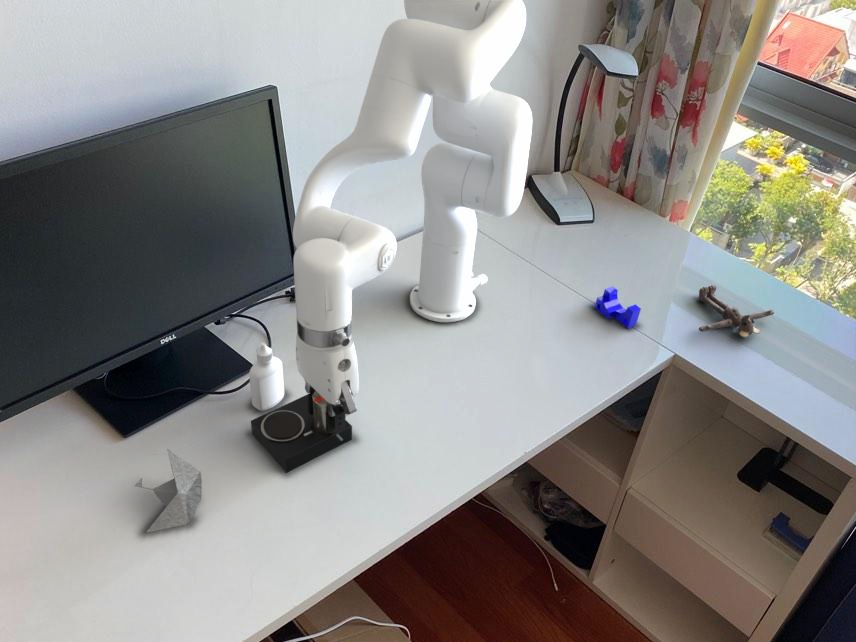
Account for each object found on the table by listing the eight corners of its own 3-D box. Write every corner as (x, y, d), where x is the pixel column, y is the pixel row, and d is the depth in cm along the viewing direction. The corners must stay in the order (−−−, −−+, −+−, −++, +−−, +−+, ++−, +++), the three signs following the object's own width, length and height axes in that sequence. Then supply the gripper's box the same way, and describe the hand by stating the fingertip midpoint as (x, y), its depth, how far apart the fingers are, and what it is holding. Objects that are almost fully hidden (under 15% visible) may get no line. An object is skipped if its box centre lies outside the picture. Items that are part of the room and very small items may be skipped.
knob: (330, 412, 126) (329, 382, 122) (344, 426, 124) (344, 397, 120) (308, 422, 124) (307, 392, 120) (323, 437, 122) (322, 407, 118)
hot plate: (322, 401, 132) (321, 386, 130) (363, 442, 126) (363, 428, 124) (252, 434, 126) (250, 419, 124) (292, 479, 120) (291, 465, 118)
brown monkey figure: (742, 276, 163) (794, 312, 152) (737, 295, 165) (787, 331, 155) (670, 292, 157) (719, 331, 146) (665, 311, 159) (713, 350, 149)
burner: (289, 406, 127) (289, 403, 126) (313, 430, 123) (312, 427, 123) (252, 423, 123) (252, 420, 123) (275, 448, 120) (275, 445, 120)
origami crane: (191, 540, 109) (121, 527, 107) (190, 542, 115) (124, 530, 113) (212, 454, 112) (144, 440, 110) (210, 460, 118) (146, 447, 116)
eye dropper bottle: (289, 405, 131) (285, 348, 123) (255, 413, 129) (248, 356, 121) (281, 388, 134) (277, 331, 126) (248, 396, 132) (241, 339, 124)
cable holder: (594, 307, 157) (598, 291, 154) (607, 303, 158) (612, 286, 155) (622, 330, 152) (627, 313, 149) (635, 325, 153) (641, 308, 151)
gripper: (382, 347, 108) (379, 441, 121) (313, 287, 117) (316, 380, 130) (336, 368, 105) (337, 463, 117) (268, 304, 114) (276, 398, 126)
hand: (326, 418), depth 123 cm, fingers closed on knob, 4 cm apart
